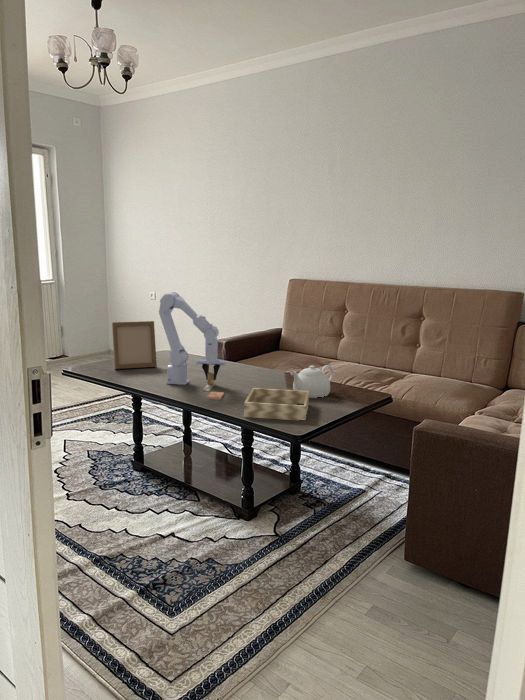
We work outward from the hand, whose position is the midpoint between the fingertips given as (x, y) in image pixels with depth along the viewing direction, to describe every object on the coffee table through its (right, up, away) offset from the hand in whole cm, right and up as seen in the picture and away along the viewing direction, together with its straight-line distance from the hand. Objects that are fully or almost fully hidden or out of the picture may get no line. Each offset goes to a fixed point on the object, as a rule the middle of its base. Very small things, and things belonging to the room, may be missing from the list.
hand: (211, 379), depth 262 cm
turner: (-1, -4, -4) cm, 6 cm away
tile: (+4, -6, -15) cm, 16 cm away
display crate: (+31, -11, -37) cm, 50 cm away
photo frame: (-46, +5, +36) cm, 58 cm away
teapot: (+48, -6, -10) cm, 49 cm away
